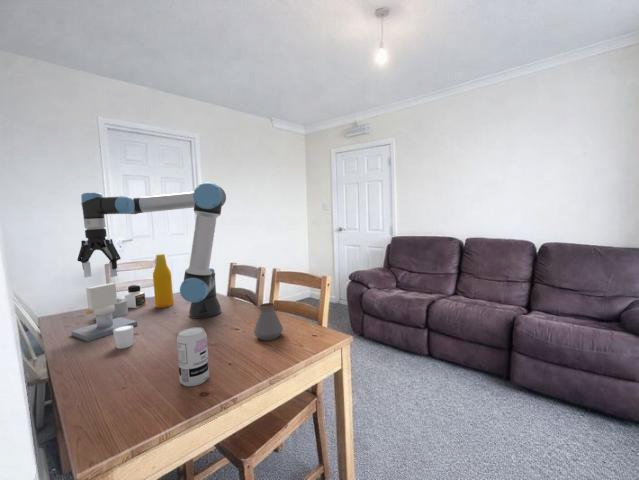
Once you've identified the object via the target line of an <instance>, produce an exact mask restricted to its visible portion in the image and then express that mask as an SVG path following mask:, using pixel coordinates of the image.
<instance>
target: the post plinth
mask: <svg viewBox="0 0 639 480" xmlns="http://www.w3.org/2000/svg"><path fill="white" fill-rule="evenodd" d="M95 321H96V322H95V323H94V324H92V325H87V326H83V327H80V328H76V329H74V330H73V329H72V330H70V331H71V337H72V336H73V337H74V338H78V339H80V340H83V341H85V342H91V341H95V340H97V339H100V338H103V337H106V336H109V335H112V334H113V335H114V333H113V330H114V329H115V328H117V327H121V326H127V325H132V326H133V328H135V327H137V326H138V321H137V320H133V319H129V318H125V317H123V316H121V317H117V318H112V312H111V313H108V314H104V315H95Z"/></svg>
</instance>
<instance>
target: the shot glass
mask: <svg viewBox="0 0 639 480" xmlns="http://www.w3.org/2000/svg"><path fill="white" fill-rule="evenodd" d="M113 337H114V342H115V347H116V349H119V350H120V349H126V348H129V347H132V346H133V345H134V327H133V326H132V325H127V326H121V327H117V328H115V329H114V330H113Z"/></svg>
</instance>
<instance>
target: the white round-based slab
mask: <svg viewBox="0 0 639 480" xmlns="http://www.w3.org/2000/svg"><path fill="white" fill-rule="evenodd" d="M85 289H86V297H87V298H86V299H87V308H88V309H90V310H88V311H85V315H91V314H92V316H96V315H104V314H108V313H111V312H114V311H115V306H114V304H116V303H117V298H118V296H117V289H116V283H113V282H111V283H110V282H109V283H105V284H99V285H95V286H89V287H86V288H85Z"/></svg>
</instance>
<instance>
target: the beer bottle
mask: <svg viewBox="0 0 639 480" xmlns="http://www.w3.org/2000/svg"><path fill="white" fill-rule="evenodd" d="M152 279H153V281H152V282H153V291H154V292H153V293H154V304H155V307H156V308H159V309H160V308H169V307H171V306H173V305H174V295H173V282H172V280H173V279H172V272H171V270H170V268H169V266H168V265H167V260H166V256H165V254H164V253H160V254H159V253H158V254H156V255H155V266H154V270H153V271H152Z"/></svg>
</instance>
